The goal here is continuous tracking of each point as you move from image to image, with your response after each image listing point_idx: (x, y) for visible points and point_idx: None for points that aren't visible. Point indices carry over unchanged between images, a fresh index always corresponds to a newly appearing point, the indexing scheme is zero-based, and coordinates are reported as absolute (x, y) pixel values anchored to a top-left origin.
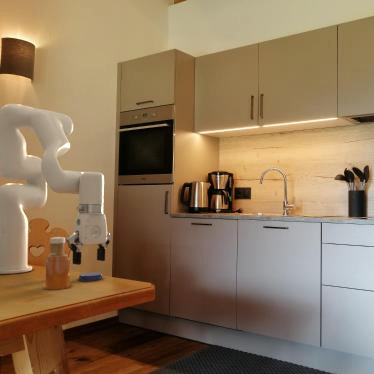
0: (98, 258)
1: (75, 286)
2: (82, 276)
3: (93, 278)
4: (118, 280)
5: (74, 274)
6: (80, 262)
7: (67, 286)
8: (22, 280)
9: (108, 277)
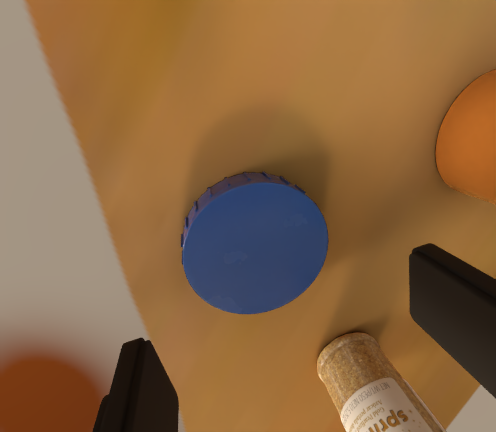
0: (170, 399)
1: (430, 83)
2: (324, 227)
3: (271, 178)
4: (115, 48)
5: (235, 410)
6: (432, 251)
7: (486, 75)
8: (436, 383)
9: (127, 228)
